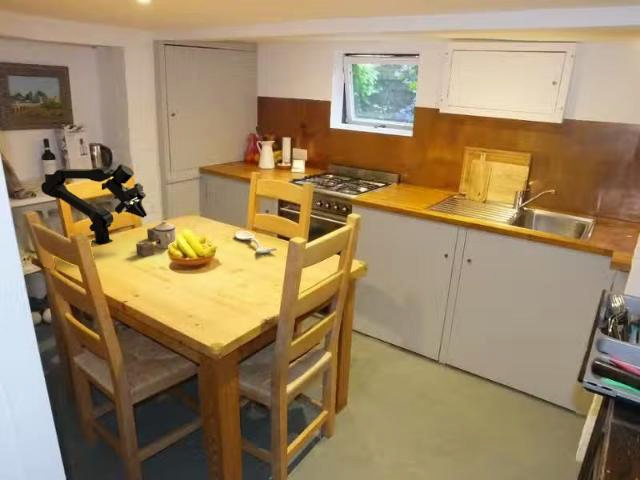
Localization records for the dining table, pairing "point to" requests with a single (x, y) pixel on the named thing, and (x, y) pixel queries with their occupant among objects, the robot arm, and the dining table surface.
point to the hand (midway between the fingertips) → (145, 216)
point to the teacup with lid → (164, 234)
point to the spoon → (249, 236)
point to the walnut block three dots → (151, 234)
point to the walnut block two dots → (145, 249)
